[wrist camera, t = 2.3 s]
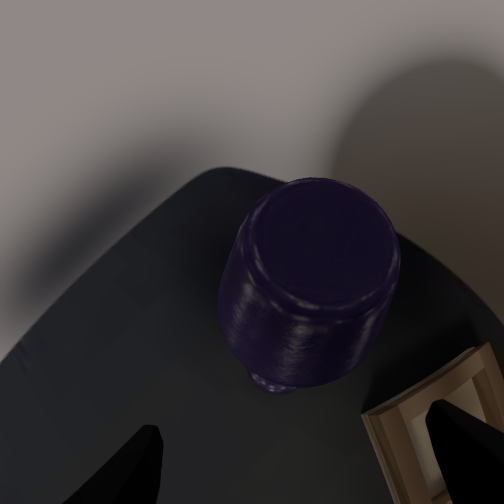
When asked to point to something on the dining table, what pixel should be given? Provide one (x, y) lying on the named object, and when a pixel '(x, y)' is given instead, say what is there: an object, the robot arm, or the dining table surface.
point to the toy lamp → (308, 284)
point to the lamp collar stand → (414, 427)
